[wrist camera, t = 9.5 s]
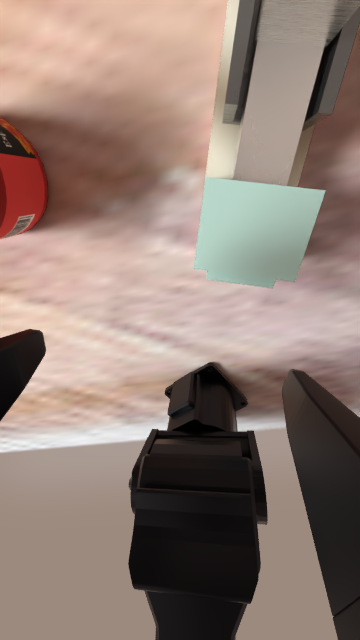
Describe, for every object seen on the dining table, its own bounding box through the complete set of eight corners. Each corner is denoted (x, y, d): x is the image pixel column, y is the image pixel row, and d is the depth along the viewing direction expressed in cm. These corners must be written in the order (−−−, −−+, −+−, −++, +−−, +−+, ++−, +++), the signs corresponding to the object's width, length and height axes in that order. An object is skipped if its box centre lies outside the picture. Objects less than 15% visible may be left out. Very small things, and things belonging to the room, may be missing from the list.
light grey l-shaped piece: (263, -23, 12) (480, -955, 2) (329, -19, 11) (890, -1010, 2) (218, 243, 17) (222, 313, 8) (261, 248, 17) (319, 326, 8)
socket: (208, 179, 17) (205, 176, 12) (293, 188, 16) (325, 190, 12) (197, 258, 19) (192, 282, 14) (271, 267, 19) (290, 295, 14)
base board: (252, -185, 11) (256, -217, 10) (396, -181, 11) (413, -214, 10) (195, 257, 20) (194, 260, 19) (270, 266, 20) (273, 270, 19)
